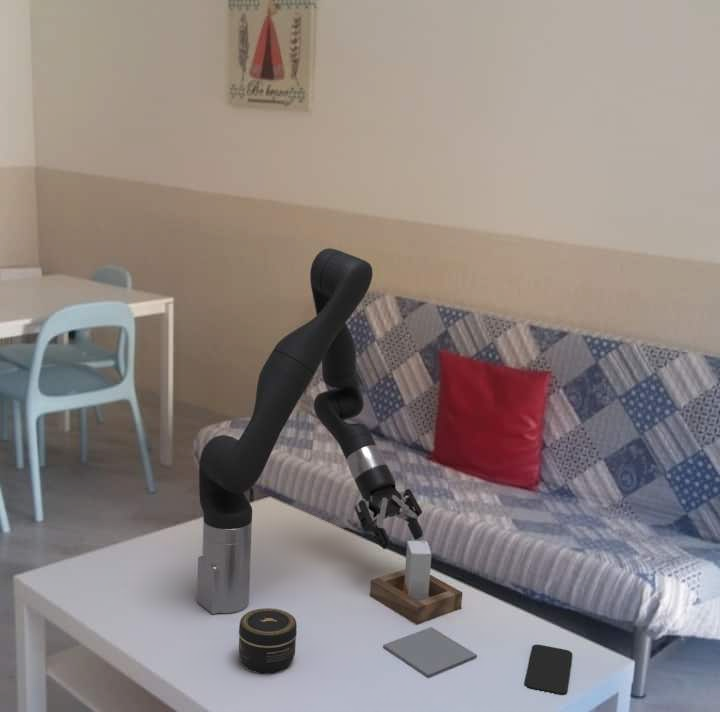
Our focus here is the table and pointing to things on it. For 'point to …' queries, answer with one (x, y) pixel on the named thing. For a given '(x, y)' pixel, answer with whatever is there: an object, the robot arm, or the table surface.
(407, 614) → the brown wooden rectangular frame
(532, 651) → the phone
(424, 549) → the skincare box
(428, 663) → the rubber mat
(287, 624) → the jar
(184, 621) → the table surface
